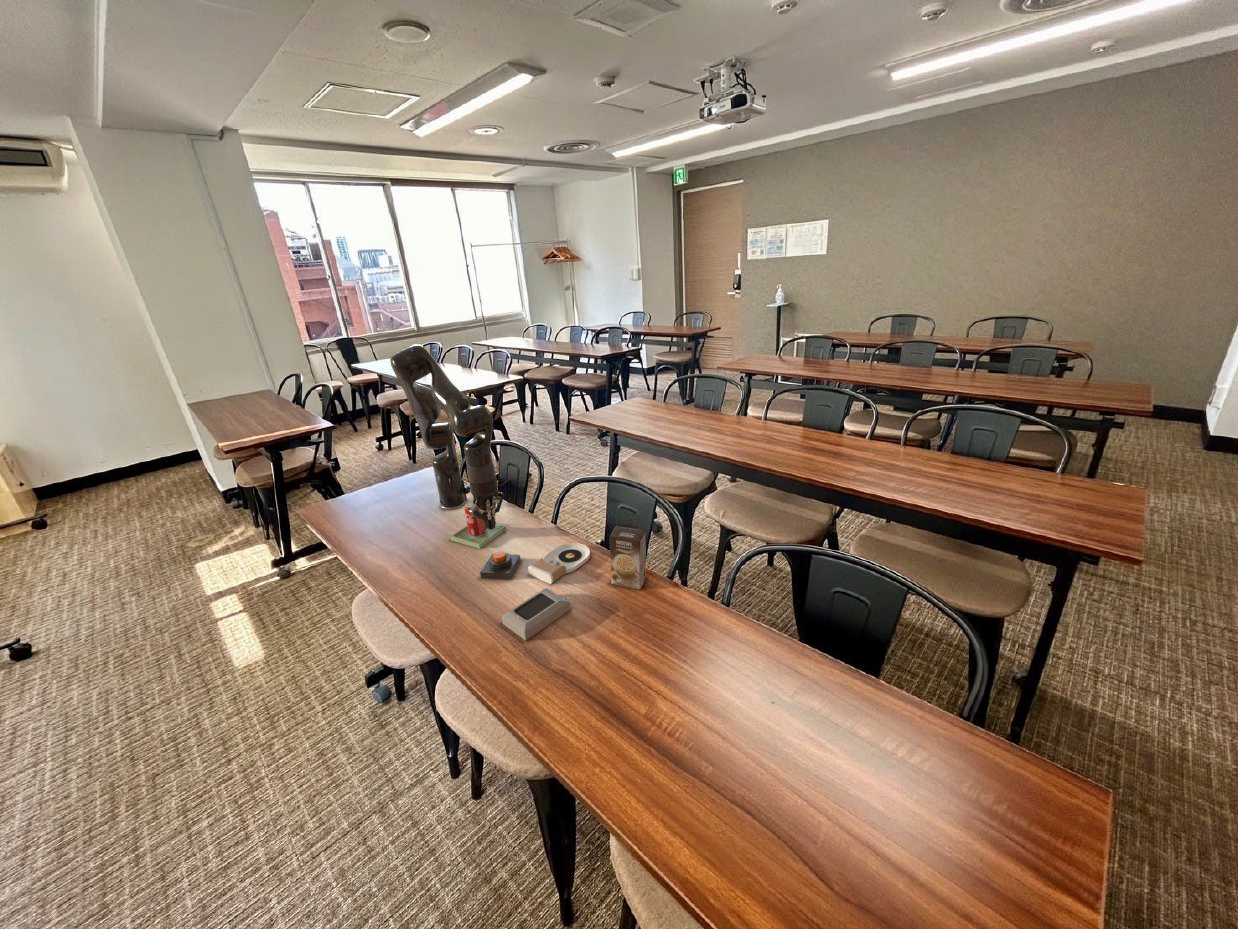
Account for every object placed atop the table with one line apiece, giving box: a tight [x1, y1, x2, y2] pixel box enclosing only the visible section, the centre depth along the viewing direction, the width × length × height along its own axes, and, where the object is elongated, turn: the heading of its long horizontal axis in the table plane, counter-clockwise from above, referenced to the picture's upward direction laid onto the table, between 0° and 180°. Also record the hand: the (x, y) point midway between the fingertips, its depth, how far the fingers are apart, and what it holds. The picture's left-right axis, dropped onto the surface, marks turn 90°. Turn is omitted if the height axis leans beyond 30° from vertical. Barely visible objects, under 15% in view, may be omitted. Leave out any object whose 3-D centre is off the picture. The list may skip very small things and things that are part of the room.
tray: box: [449, 523, 507, 549], centre depth 166 cm, size 13×13×2 cm
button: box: [493, 551, 506, 562], centre depth 145 cm, size 4×4×2 cm
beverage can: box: [464, 499, 488, 538], centre depth 164 cm, size 6×6×12 cm
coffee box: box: [609, 525, 647, 590], centre depth 136 cm, size 9×6×16 cm
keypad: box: [501, 587, 571, 641], centre depth 125 cm, size 10×4×15 cm
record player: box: [527, 542, 591, 585], centre depth 148 cm, size 12×3×20 cm
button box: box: [479, 552, 521, 581], centre depth 146 cm, size 10×9×4 cm
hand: (491, 528), depth 142 cm, fingers closed
